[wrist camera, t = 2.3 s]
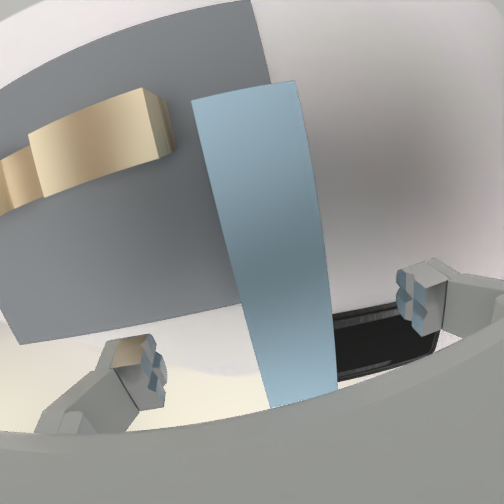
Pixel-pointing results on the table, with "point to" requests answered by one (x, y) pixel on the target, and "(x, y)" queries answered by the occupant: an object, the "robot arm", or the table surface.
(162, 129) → the beech rail
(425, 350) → the phone
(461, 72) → the table surface
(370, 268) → the table surface
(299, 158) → the blue plate
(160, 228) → the mat
